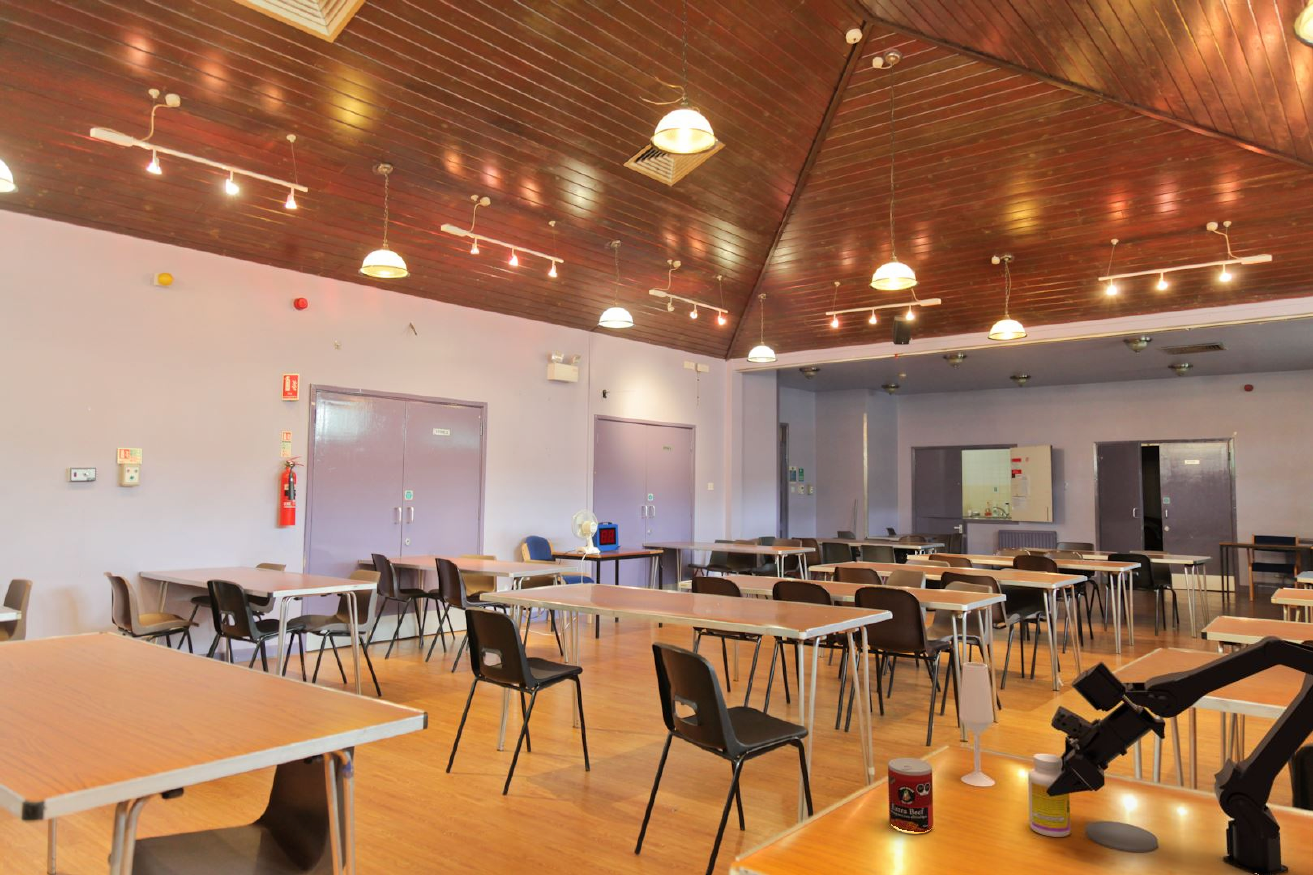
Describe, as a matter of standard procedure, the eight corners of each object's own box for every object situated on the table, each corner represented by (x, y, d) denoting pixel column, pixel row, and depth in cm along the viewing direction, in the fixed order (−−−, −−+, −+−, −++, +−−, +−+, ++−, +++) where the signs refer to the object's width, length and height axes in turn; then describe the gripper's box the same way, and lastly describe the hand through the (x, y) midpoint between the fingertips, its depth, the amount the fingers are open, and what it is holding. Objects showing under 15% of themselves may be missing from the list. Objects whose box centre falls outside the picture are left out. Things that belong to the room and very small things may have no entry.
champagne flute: (971, 772, 177) (968, 659, 178) (1001, 781, 172) (998, 665, 173) (954, 779, 173) (952, 664, 174) (984, 788, 167) (981, 669, 169)
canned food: (884, 830, 147) (883, 767, 148) (894, 814, 154) (893, 754, 155) (929, 838, 144) (927, 774, 144) (936, 822, 151) (935, 761, 152)
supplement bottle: (1075, 839, 143) (1073, 764, 144) (1034, 836, 145) (1032, 762, 145) (1064, 824, 150) (1062, 752, 151) (1025, 821, 151) (1023, 750, 152)
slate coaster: (1173, 846, 141) (1172, 841, 141) (1126, 856, 137) (1126, 851, 137) (1116, 821, 151) (1116, 817, 151) (1071, 830, 147) (1071, 826, 147)
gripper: (1080, 683, 154) (1017, 734, 159) (1080, 707, 138) (1010, 763, 142) (1129, 731, 150) (1063, 783, 155) (1135, 762, 134) (1061, 818, 138)
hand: (1048, 785), depth 148 cm, fingers open, 9 cm apart
